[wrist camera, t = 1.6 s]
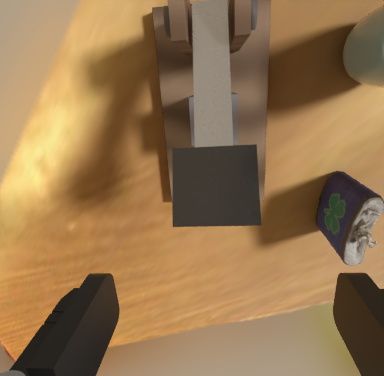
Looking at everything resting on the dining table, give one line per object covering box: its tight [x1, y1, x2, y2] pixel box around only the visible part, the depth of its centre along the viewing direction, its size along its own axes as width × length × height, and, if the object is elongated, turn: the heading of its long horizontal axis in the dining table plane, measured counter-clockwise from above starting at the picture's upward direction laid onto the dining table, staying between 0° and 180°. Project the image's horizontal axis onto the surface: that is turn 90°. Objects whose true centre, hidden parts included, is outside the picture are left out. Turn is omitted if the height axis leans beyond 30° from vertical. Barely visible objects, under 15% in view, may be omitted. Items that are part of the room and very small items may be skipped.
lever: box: [172, 0, 261, 227], centre depth 22 cm, size 19×6×2 cm, turn 3°
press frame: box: [152, 0, 271, 203], centre depth 29 cm, size 24×13×12 cm, turn 4°
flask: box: [316, 171, 384, 266], centre depth 33 cm, size 9×3×11 cm, turn 175°
